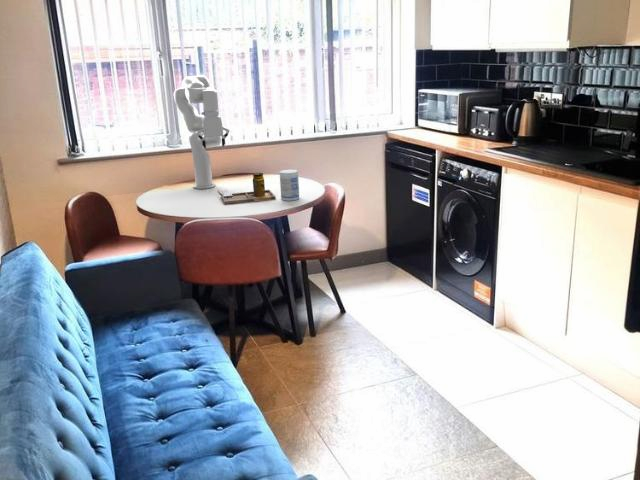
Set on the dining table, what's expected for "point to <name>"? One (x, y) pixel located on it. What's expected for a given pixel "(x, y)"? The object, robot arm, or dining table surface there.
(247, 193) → the divided wooden tray
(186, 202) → the dining table surface
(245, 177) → the dining table surface
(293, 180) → the supplement tub
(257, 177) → the condiment
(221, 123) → the robot arm
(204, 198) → the dining table surface
